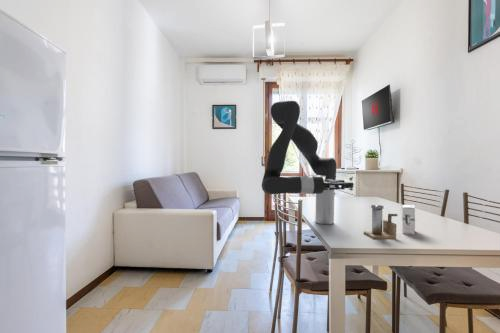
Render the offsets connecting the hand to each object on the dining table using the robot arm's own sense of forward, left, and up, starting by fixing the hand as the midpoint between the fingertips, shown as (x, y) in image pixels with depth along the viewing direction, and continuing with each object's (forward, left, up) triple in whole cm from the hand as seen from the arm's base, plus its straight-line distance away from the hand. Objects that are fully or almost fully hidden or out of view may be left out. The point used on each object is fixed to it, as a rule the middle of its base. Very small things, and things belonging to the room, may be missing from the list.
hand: (348, 183), depth 118 cm
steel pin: (-1, +14, -21) cm, 25 cm away
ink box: (-7, +32, -23) cm, 40 cm away
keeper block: (-1, +16, -22) cm, 27 cm away
